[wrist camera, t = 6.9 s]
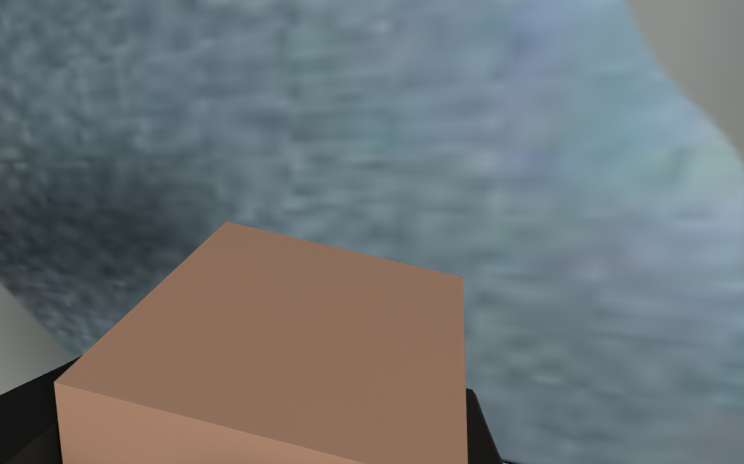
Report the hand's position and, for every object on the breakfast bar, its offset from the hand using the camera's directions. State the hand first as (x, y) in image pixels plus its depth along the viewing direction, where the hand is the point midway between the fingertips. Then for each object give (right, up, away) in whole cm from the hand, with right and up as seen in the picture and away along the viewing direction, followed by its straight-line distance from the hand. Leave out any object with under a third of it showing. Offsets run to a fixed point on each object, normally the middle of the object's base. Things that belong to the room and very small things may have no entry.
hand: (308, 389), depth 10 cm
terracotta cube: (0, +1, +1) cm, 1 cm away
